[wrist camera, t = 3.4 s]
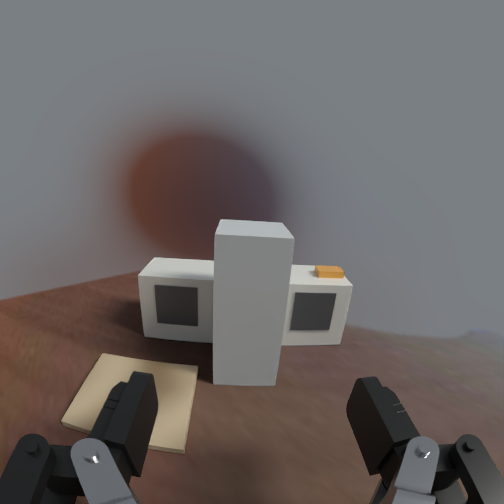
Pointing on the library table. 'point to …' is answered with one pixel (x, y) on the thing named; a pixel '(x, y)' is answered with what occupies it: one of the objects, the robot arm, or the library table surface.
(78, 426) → the coaster
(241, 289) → the block
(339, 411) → the library table surface
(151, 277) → the socket bar
